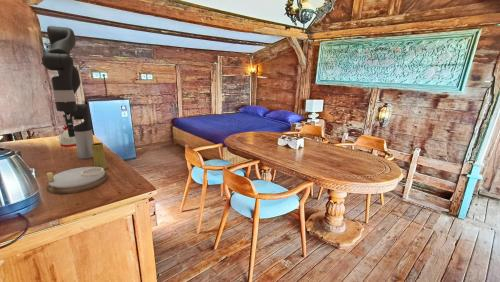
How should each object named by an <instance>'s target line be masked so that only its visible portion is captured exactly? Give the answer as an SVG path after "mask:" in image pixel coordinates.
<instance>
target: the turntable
mask: <svg viewBox="0 0 500 282" xmlns="http://www.w3.org/2000/svg"><path fill="white" fill-rule="evenodd" d="M105 171H106V170H105V169H103V168H100V167H94V166H84V167H77V168H71V169H67V170H64V171H61V172H59V173H56V174H53V172H52V171H50V172H47V173H46V178H47V182H49V185H50V186H51V187H52V186H54V187H55V188H59V189H65V188H75V187H80V186H84V185H88V184H91V183H93V182H96V181H98V180H100V179H101V178H103V177H104V175H105Z"/></svg>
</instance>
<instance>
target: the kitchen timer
mask: <svg viewBox="0 0 500 282" xmlns="http://www.w3.org/2000/svg"><path fill="white" fill-rule="evenodd" d="M66 127H67V126H66V125H65V124H64V125H63V126H62V129H63V132H62V135H61V140H60V139H59V140H60V141H59V145H60V147H62V148H69V147H70V148H71V147H72V148H73V147H77V146H76V140H75V136H74V137H69V134H68V129H67V128H66Z"/></svg>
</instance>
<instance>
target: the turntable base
mask: <svg viewBox="0 0 500 282" xmlns="http://www.w3.org/2000/svg"><path fill="white" fill-rule="evenodd" d="M104 171H105V175H104V177H103V178H101V179H100V180H98V181H96V182H93V183H91V184H88V185H84V186H80V187H75V188H65V189H59V188H55V187H54V186H52V187H51V186H50V185H49V182H48V181H47V182H46V184H45V186H46V190H47V192H49V193H51V194H54V195H55V194H56V195H67V194H76V193H81V192H84V191H88V190H89V191H90V190H91V189H94V188H97V187H99V186H101V185H102V184H104V183H105V182H106V181H108V179H109V177H108V172H107V171H106V170H104ZM96 186H97V187H96Z"/></svg>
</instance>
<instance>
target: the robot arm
mask: <svg viewBox="0 0 500 282" xmlns="http://www.w3.org/2000/svg"><path fill="white" fill-rule="evenodd" d="M46 34H47V38H48V41H49V43H50V44H49V45H50V49H48V50H47V51H45V52H44V53H43V54H42V57H41V63H42V65H43V67H44V68H45V69H46V70H49V71H57V74H58V75H56V76H52V77H51V83H52V85H51V86H52V90H53V98H54V103H55V109H56V111H57V112H63V113H64V114H62V119H63V120H64V121H63V122H64V125H65V126H66V128H67V129H68V134H69V137H74V136H75V140H76V146H75V147H76V151H77V156H78V159H81V160H82V159H83V160H85V159H92V158H93V152H92V144H94V143H95V141H94V134H93V128H92V121H91V114H90V113H91V112H90V108H89V105H88V104H86V103H79V104H78V103H77V100H76V93H77V91H78V89H79V87H80V86H81V78H80V73H79V70H78V68H76V66H75V65H74V60H73V58H72V57H71V51H72V50H73V48H74V47H75V46H76V42H77V40H76V36H75V32H74V30H73V29H72V28H69V27H66V26H65V27H64V26H63V27H62V26H56V25H55V26H54V25H49V26H47V27H46ZM74 120H75V121H77V120H83V122H81V123H79V124H75V121H74Z"/></svg>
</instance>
